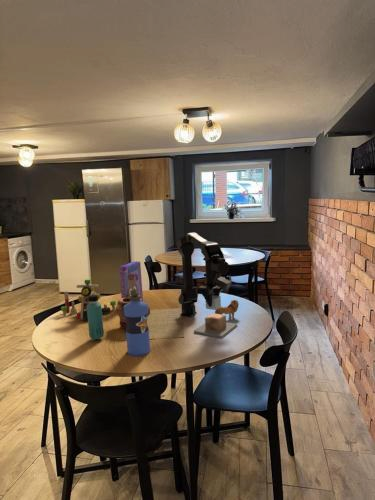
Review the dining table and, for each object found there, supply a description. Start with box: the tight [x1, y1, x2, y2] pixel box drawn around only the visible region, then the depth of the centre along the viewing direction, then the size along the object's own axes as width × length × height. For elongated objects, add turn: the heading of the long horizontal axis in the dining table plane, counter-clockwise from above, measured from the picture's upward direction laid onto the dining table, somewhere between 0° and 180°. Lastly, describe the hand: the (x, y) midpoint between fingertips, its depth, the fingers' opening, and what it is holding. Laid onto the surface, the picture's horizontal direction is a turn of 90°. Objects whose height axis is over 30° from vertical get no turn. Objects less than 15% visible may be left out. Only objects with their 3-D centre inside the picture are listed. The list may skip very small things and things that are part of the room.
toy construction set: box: [60, 279, 117, 322], centre depth 186 cm, size 27×22×21 cm
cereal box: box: [118, 261, 144, 301], centre depth 202 cm, size 17×5×24 cm, turn 162°
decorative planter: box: [114, 297, 151, 331], centre depth 163 cm, size 20×12×14 cm, turn 66°
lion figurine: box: [214, 299, 239, 320], centre depth 168 cm, size 15×5×9 cm, turn 116°
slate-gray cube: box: [205, 295, 222, 311], centre depth 154 cm, size 5×5×5 cm
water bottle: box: [124, 290, 151, 357], centre depth 135 cm, size 9×9×25 cm
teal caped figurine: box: [87, 295, 105, 340], centre depth 149 cm, size 6×7×20 cm
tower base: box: [193, 312, 238, 339], centre depth 156 cm, size 14×16×6 cm
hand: (213, 305), depth 154 cm, fingers closed on slate-gray cube, 5 cm apart
